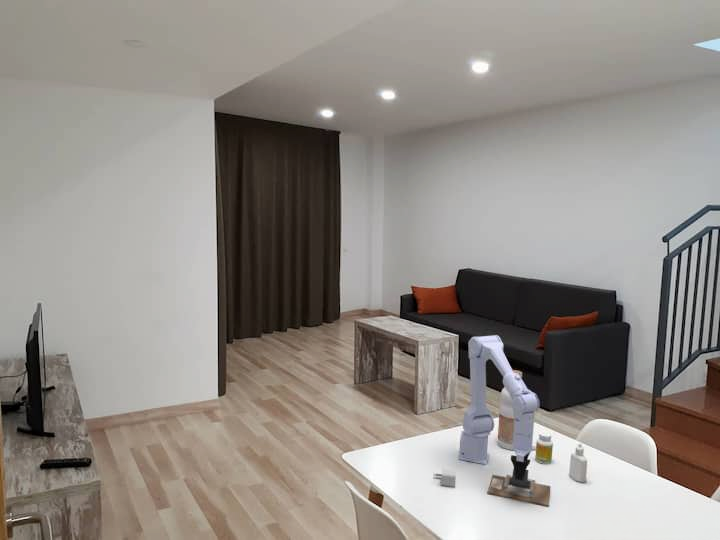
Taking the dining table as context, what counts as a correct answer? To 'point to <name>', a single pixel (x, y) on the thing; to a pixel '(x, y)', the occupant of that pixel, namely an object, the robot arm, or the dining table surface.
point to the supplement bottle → (544, 448)
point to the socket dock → (519, 490)
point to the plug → (520, 483)
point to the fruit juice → (506, 419)
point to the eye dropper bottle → (578, 465)
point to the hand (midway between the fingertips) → (520, 473)
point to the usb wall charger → (447, 477)
